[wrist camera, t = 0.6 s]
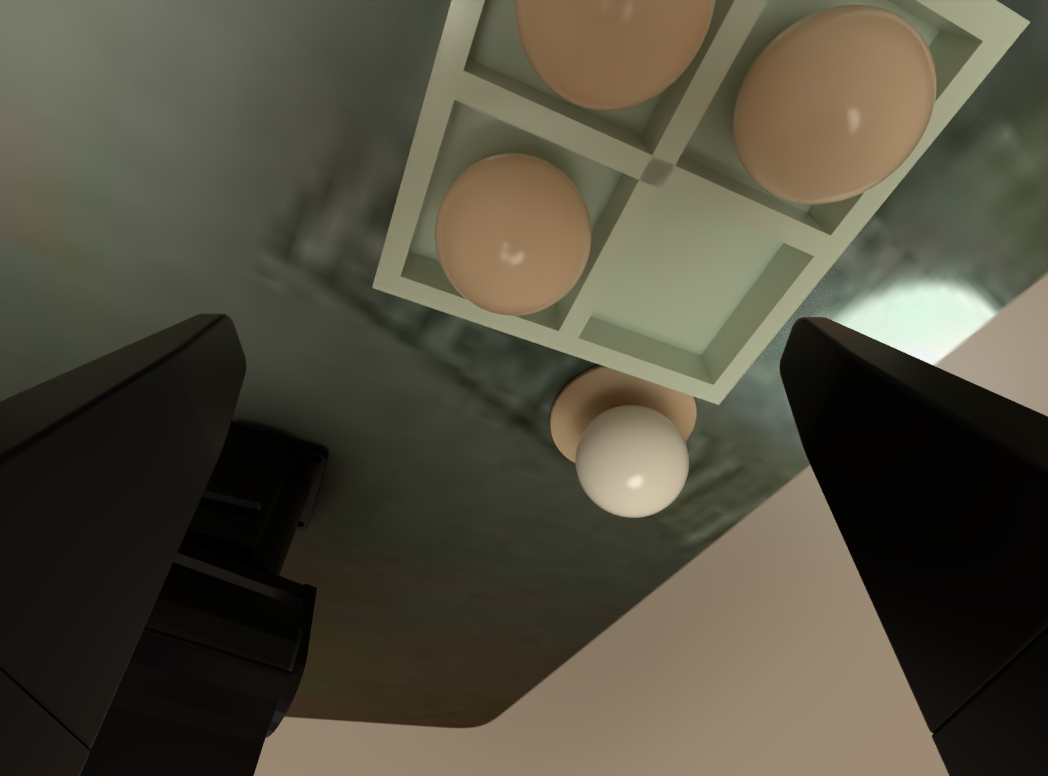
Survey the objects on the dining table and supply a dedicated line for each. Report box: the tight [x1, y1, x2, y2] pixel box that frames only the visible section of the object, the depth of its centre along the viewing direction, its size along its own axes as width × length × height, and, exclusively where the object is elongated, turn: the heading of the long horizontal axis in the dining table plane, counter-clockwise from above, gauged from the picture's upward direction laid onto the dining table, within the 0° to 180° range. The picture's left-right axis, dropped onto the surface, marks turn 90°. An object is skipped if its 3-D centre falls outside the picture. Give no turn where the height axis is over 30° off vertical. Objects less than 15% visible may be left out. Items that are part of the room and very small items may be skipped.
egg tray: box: [372, 0, 1030, 405], centre depth 19 cm, size 14×14×3 cm
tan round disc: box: [550, 365, 696, 463], centre depth 28 cm, size 7×7×1 cm
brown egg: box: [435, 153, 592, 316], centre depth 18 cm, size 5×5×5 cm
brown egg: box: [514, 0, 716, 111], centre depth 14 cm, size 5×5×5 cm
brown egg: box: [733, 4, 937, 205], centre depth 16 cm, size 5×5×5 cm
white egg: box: [575, 405, 689, 518], centre depth 26 cm, size 5×5×5 cm
